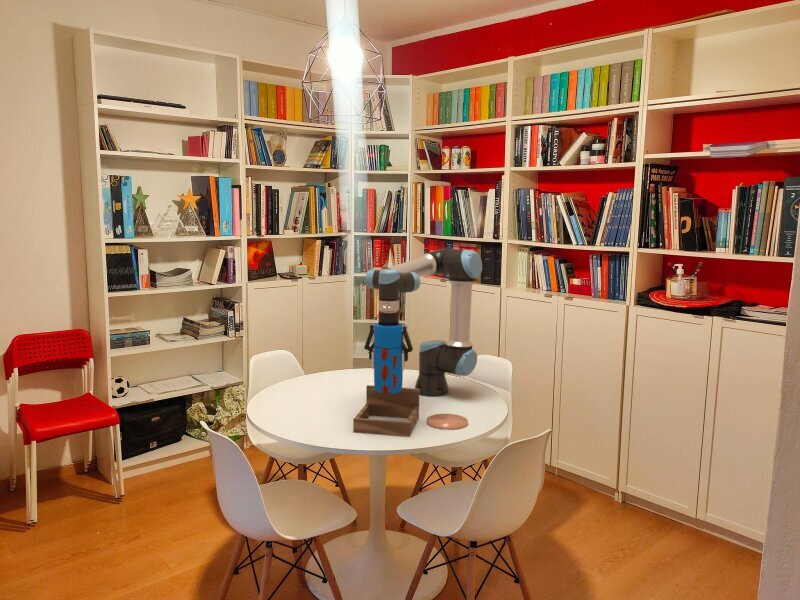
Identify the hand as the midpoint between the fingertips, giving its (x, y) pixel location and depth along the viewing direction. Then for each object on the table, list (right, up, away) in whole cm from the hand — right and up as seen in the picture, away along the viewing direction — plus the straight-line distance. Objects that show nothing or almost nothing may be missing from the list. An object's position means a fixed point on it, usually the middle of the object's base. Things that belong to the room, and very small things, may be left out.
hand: (388, 368), depth 242 cm
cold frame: (0, -22, +3) cm, 22 cm away
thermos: (0, -8, +1) cm, 8 cm away
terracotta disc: (+23, -22, +7) cm, 32 cm away
